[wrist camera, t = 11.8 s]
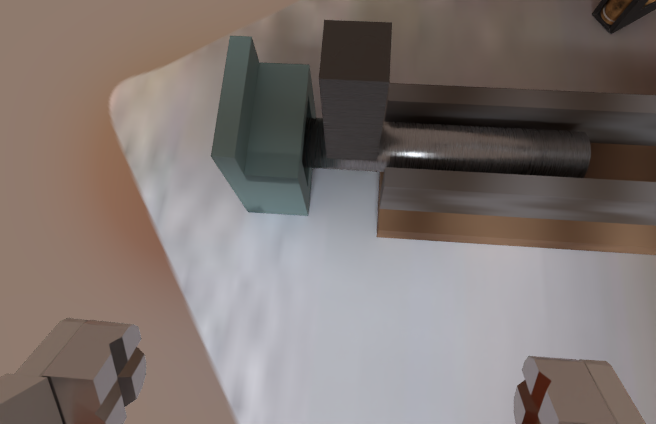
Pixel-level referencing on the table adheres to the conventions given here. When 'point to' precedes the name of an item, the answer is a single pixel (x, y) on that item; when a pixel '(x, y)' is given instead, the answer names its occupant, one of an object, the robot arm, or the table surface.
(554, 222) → the channel tray
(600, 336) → the table surface
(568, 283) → the table surface
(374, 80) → the tube
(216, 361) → the table surface
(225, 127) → the socket block
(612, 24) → the ammunition clip
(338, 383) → the table surface
